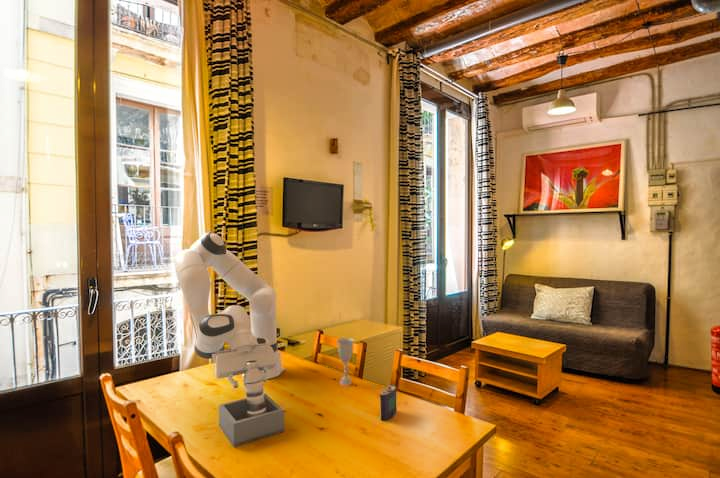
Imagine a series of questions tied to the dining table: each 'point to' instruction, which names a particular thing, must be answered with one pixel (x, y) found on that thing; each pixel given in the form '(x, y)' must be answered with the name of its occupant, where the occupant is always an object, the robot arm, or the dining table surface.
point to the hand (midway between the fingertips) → (250, 384)
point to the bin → (250, 421)
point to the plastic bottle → (254, 389)
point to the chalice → (345, 356)
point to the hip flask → (388, 403)
